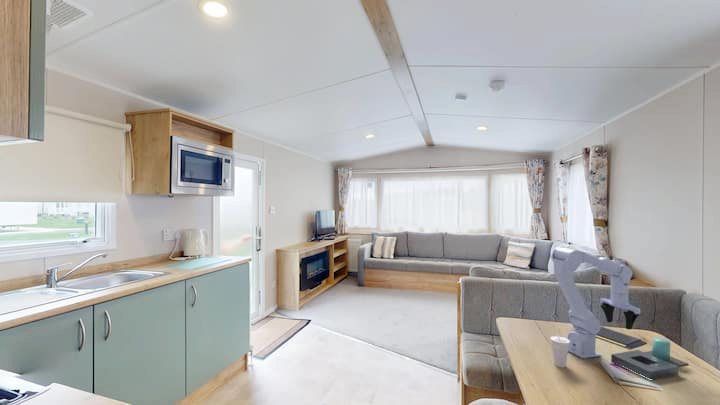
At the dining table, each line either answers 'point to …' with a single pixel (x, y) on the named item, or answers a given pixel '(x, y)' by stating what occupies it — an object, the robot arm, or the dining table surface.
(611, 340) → the grey book
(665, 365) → the housing
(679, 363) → the mat
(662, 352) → the end cap
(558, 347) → the smoothie
